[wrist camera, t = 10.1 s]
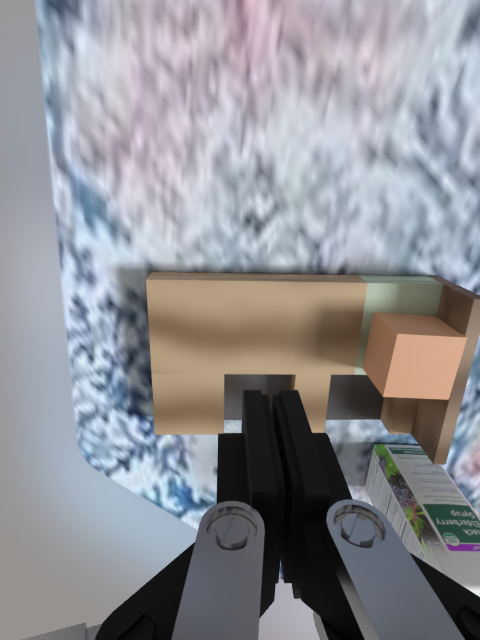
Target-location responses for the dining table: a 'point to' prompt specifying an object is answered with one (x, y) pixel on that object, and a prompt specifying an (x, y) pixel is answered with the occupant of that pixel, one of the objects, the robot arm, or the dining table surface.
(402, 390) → the orange block
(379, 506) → the syrup box
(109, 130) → the dining table surface
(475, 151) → the dining table surface
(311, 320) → the board
